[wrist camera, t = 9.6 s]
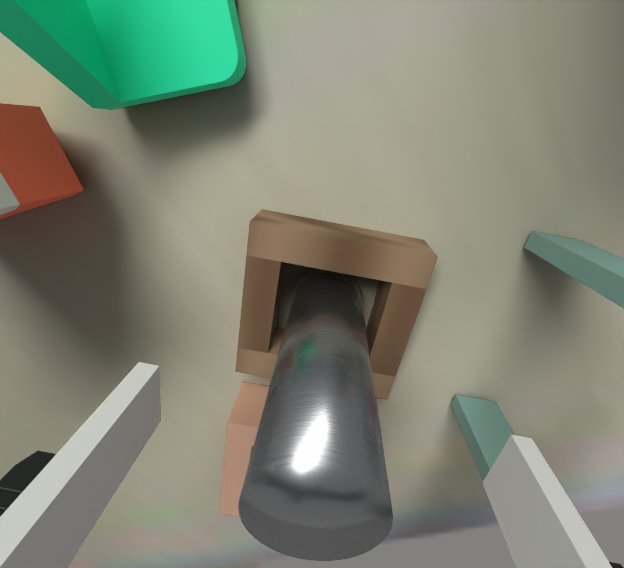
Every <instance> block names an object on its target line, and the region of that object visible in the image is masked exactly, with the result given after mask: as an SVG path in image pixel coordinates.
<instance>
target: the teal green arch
mask: <svg viewBox="0 0 624 568" xmlns="http://www.w3.org/2000/svg"><path fill="white" fill-rule="evenodd" d="M524 248H526V249H527V250H529V251H531V252H532V253H534V254H536V255H537V256H539V257H541V258H542V259H544V260H545V261H547V262H549V263H550V264H552V265H554V266H555V267H557V268H559V269H560V270H562V271H563V272H565V273H567V274H568V275H570V276H572V277H573V278H575V279H577V280H578V281H580V282H581V283H583V284H585V285H586V286H588V287H590V288H591V289H593V290H595V291H596V292H598V293H599V294H601V295H603V296H604V297H606V298H608V299H609V300H611V301H613V302H614V303H616V304H617V305H619V306H621V307H622V308H624V259H623V258H620V257H618V256H616V255H614V254H611V253H609V252H607V251H604V250H602V249H600V248H598V247H595V246H593V245H591V244H589V243H586V242H584V241H581V240H575V239H570V238H565V237H559V236H554V235H549V234H544V233H538V232H533V231H532V232H531V234H530V236H529V238H528V240H527V243H526V245H525V247H524ZM451 406H452V408H453V410H454V413H455V415H456V417H457V420H458V422H459V425H460V427H461V429H462V432H463V434H464V437H465V439H466V441H467V444H468V446H469V449H470V451H471V453H472V456H473V458H474V460H475V463H476V465H477V468H478V470H479V472H480V475H481V477H482V480H483V481H484V479H485V478H486V476H487V474H488V473H489V471H490V469H491V468H492V466H493V464H494V463H495V461H496V459H497V458H498V456H499V454H500V453H501V451H502V449H503V448H504V446H505V444H506V442H507V441H508V439H509V437H510V436H511V435H515V434H514V432H513V430H512V429H511V427H510V425H509V423H508V422H507V420H506V418H505V417H504V415H503V413H502V412H501V410H500V408H499V407H498V405H497V403H496V402H494V401H489V400H483V399H478V398H472V397H467V396H462V395H455V397H454V399H453V401H452V404H451Z"/></svg>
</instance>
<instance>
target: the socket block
mask: <svg viewBox="0 0 624 568" xmlns="http://www.w3.org/2000/svg"><path fill="white" fill-rule="evenodd" d="M436 260H437V255H436V254H435V253H434V252H433V250H432V249H431V248H430V247H429V246H428V244H427V243H426V242H425V241H424V240H421V239H415V238H410V237H405V236H400V235H394V234H389V233H384V232H378V231H373V230H368V229H362V228H357V227H352V226H347V225H341V224H336V223H331V222H325V221H320V220H315V219H310V218H304V217H299V216H294V215H288V214H283V213H278V212H272V211H267V210H261V211H260V212H259V213H258V214H257V215H256V216H255V217H254V218H253V219H252V220H251V221H250V225H249V236H248V246H247V257H246V267H245V278H244V288H243V299H242V309H241V320H240V330H239V341H238V351H237V362H236V372H241V373H247V374H252V375H257V376H263V377H268V378H272V375H273V371H274V368H275V364H276V360H277V356H278V353H279V349H280V345H281V341H282V338H283V334H284V330H285V329H281V328H276V324H277V317H278V310H279V304H280V297H281V290H282V284H283V277H284V270H285V264H286V263H290V264H296V265H301V266H306V267H312V268H317V269H322V270H328V271H333V272H338V273H344V274H349V275H354V276H360V277H365V278H370V279H376V280H380V283H379V286H378V290H377V293H376V297H375V300H374V304H373V307H372V311H371V314H370V318H369V321H368V325H367V328H366V335H367V342H368V349H369V355H370V362H371V369H372V376H373V383H374V390H375V397H377V398H382V399H387V398H388V396H389V393H390V390H391V387H392V384H393V382H394V379H395V376H396V373H397V370H398V367H399V365H400V362H401V359H402V356H403V353H404V351H405V348H406V345H407V342H408V339H409V336H410V334H411V331H412V328H413V325H414V322H415V319H416V317H417V314H418V311H419V308H420V305H421V303H422V300H423V297H424V294H425V291H426V288H427V286H428V283H429V280H430V277H431V274H432V272H433V269H434V266H435V263H436Z"/></svg>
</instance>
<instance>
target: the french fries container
mask: <svg viewBox="0 0 624 568" xmlns="http://www.w3.org/2000/svg"><path fill="white" fill-rule="evenodd" d="M83 190H84V189H83V187H82V185H81V183H80V181H79V180H78V178H77V176H76V174H75V172H74V170H73V168H72V166H71V165H70V163H69V161H68V159H67V157H66V155H65V153H64V151H63V150H62V148H61V146H60V144H59V142H58V140H57V138H56V137H55V135H54V133H53V131H52V129H51V127H50V125H49V123H48V122H47V120H46V118H45V116H44V114H43V112H42V110H41V108H40V107H34V106H23V105H11V104H0V219H2V218H6V217H9V216H12V215H15V214H18V213H22V212H25V211H28V210H31V209H34V208H37V207H40V206H44V205H47V204H50V203H53V202H56V201H59V200H63V199H66V198H69V197H72V196H75V195H77V194H78V193H80V192H82V191H83Z"/></svg>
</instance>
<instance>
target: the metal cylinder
mask: <svg viewBox="0 0 624 568" xmlns="http://www.w3.org/2000/svg"><path fill="white" fill-rule="evenodd" d="M238 510H239V516H240V518H241V521H242V523H243V524H244V526H245V528H246V529H247V530H248V531H249V533H250V534H251V535H252V536H253V537H255V538H256V539H257V540H258V541H260V542H261V543H262V544H264V545H266V546H267V547H269V548H271V549H273V550H275V551H277V552H280V553H283V554H285V555H289V556H292V557H296V558H301V559H307V560H317V561H331V560H341V559H346V558H351V557H355V556H358V555H360V554H363V553H365V552H367V551H369V550H371V549H373V548H374V547H376V546H377V545H378V544H380V543H381V542H382V541H383V540H384V538H385V537H386V536H387V535H388V533H389V531H390V529H391V526H392V520H393V515H392V507H391V500H390V493H389V486H388V479H387V472H386V465H385V458H384V452H383V445H382V438H381V431H380V424H379V417H378V410H377V404H376V397H375V390H374V383H373V376H372V369H371V362H370V355H369V349H368V342H367V335H366V328H365V321H364V314H363V307H362V300H361V294H360V289H359V286H358V284H357V282H356V280H355V279H354V278H353V277H352V276H351V275H349V274H344V273H338V272H333V271H328V270H322V269H317V268H315V269H313V270H311V271H309V272H307V273H306V274H305V275H304V276H303V277H302V278H301V279H300V280H299V282H298V284H297V286H296V289H295V293H294V297H293V300H292V304H291V308H290V311H289V315H288V319H287V323H286V326H285V330H284V334H283V338H282V341H281V345H280V349H279V353H278V356H277V360H276V364H275V368H274V371H273V375H272V379H271V382H270V386H269V390H268V394H267V397H266V401H265V405H264V409H263V412H262V416H261V420H260V424H259V427H258V431H257V435H256V439H255V442H254V446H253V450H252V453H251V457H250V461H249V465H248V468H247V472H246V476H245V480H244V483H243V487H242V491H241V495H240V499H239V503H238Z"/></svg>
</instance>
